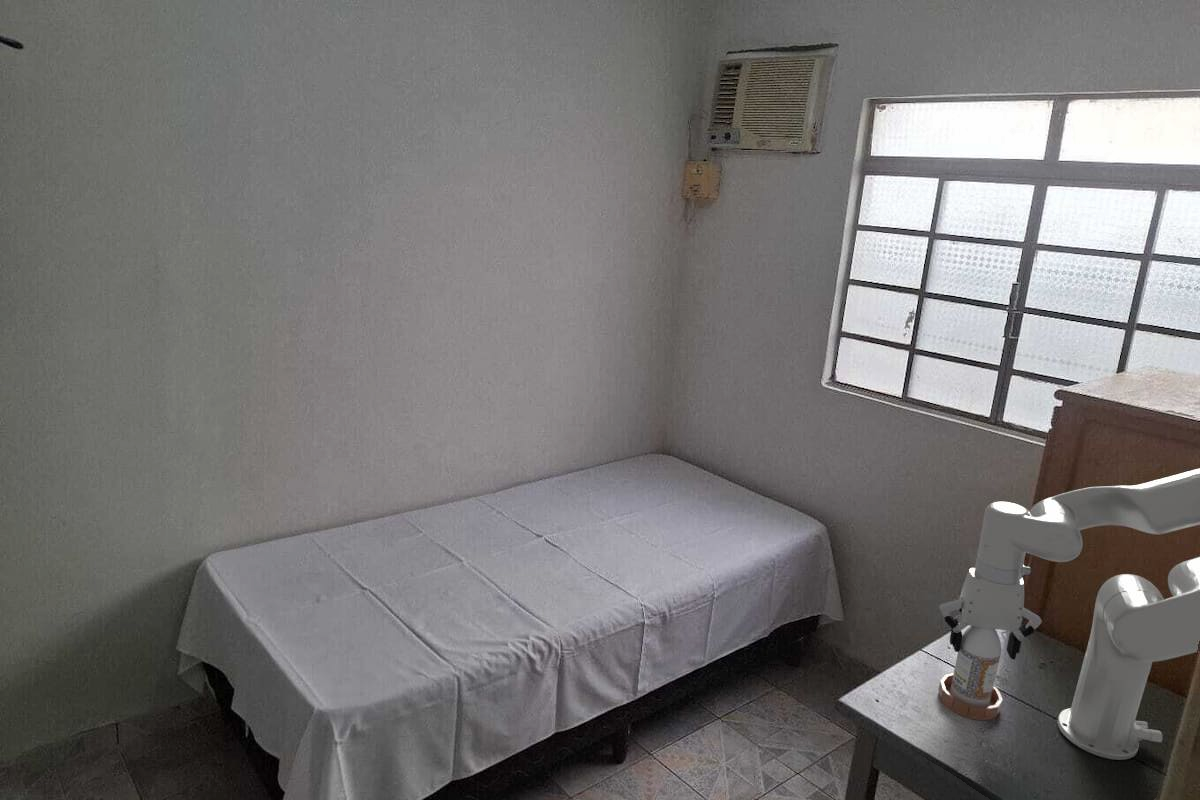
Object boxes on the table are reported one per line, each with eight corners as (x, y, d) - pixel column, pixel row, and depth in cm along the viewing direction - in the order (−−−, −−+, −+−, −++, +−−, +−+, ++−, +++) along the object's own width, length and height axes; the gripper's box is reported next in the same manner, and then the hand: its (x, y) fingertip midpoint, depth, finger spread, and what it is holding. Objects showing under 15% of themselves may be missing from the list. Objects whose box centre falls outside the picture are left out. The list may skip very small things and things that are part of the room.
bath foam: (974, 715, 147) (995, 621, 141) (942, 694, 153) (960, 603, 147) (996, 703, 151) (1017, 611, 145) (963, 683, 156) (982, 593, 150)
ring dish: (991, 689, 156) (993, 677, 155) (1005, 724, 146) (1008, 713, 145) (934, 679, 158) (936, 668, 157) (944, 714, 148) (947, 703, 147)
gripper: (1043, 565, 145) (1027, 646, 150) (943, 554, 149) (930, 634, 154) (1057, 585, 138) (1039, 670, 143) (951, 573, 142) (937, 656, 147)
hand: (982, 651), depth 148 cm, fingers open, 9 cm apart
